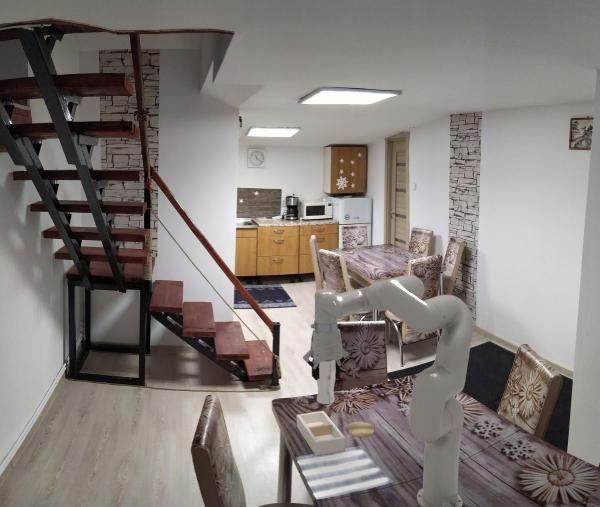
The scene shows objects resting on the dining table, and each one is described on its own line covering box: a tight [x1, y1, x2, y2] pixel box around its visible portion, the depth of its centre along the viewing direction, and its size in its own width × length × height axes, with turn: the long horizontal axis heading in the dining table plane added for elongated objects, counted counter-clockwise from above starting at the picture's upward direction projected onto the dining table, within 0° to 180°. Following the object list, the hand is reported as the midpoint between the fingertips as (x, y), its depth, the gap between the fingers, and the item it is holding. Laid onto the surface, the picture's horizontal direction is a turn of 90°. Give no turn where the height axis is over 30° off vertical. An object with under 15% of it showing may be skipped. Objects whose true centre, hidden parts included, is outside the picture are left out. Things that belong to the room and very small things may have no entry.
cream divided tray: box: [296, 410, 346, 456], centre depth 190 cm, size 21×10×5 cm, turn 18°
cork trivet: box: [346, 421, 375, 438], centre depth 196 cm, size 10×10×1 cm
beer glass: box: [316, 360, 337, 405], centre depth 182 cm, size 7×7×15 cm
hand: (325, 377), depth 182 cm, fingers closed on beer glass, 6 cm apart
